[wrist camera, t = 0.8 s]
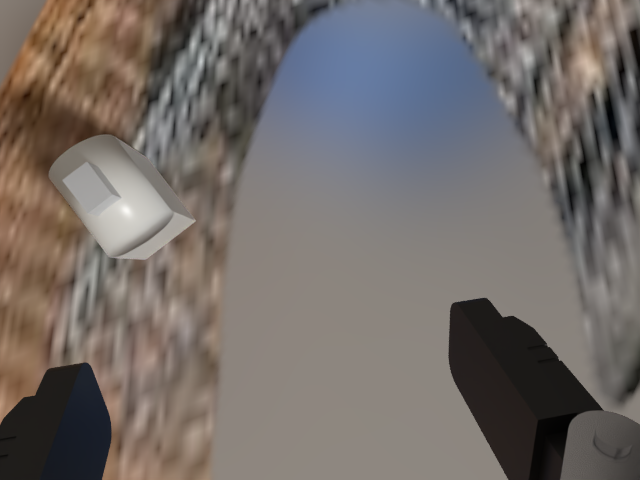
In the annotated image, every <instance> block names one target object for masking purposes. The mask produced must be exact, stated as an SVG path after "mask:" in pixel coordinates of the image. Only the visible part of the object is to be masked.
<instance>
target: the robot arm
mask: <svg viewBox="0 0 640 480" xmlns="http://www.w3.org/2000/svg"><path fill="white" fill-rule="evenodd" d="M449 364H450V370H451V373H452V376H453V379H454V382H455V383H456V385H457V387H458V389H459V391H460V393H461V394H462V396H463V398H464V400H465V402H466V404H467V405H468V407H469V409H470V411H471V413H472V414H473V416H474V418H475V420H476V422H477V423H478V425H479V427H480V429H481V431H482V432H483V434H484V436H485V438H486V440H487V442H488V443H489V445H490V447H491V449H492V451H493V453H494V454H495V456H496V458H497V460H498V462H499V463H500V465H501V467H502V469H503V471H504V473H505V474H506V476H507V478H508V480H640V425H639V424H638V423H636V422H635V421H633V420H631V419H629V418H627V417H625V416H623V415H620V414H617V413H613V412H608V411H604V410H603V409H602V408H601V407H600V405H599V404H598V403H597V402H596V401H595V400H594V398H593V397H592V396H591V395H590V394H589V393H588V391H587V390H586V389H585V388H584V387H583V386H582V384H581V383H580V382H579V381H578V380H577V378H576V377H575V376H574V375H573V374H572V373H571V371H570V370H569V369H568V368H567V367H566V366H565V365H564V363H563V362H562V361H559V359H558V356H557V355H556V354H555V353H554V352H553V350H552V349H551V348H550V347H548V346H547V343H546V342H545V341H544V340H543V339H542V338H541V336H540V335H539V334H538V333H537V332H536V330H535V329H534V328H532V327H531V326H529V325H528V324H526V323H524V322H523V321H521V320H519V319H517V318H516V317H514V316H508V317H502V316H501V315H500V313H499V312H498V311H497V310H496V308H495V307H494V306H493V305H492V303H491V302H490V301H489V300H488V299H487V298H480V299H473V300H467V301H461V302H455V303H453V304H452V306H451V310H450V331H449ZM110 444H111V421H110V416H109V413H108V410H107V407H106V405H105V402H104V399H103V397H102V394H101V391H100V389H99V386H98V383H97V381H96V378H95V375H94V373H93V370H92V368H91V366H90V365H89V364H88V363H79V364H73V365H67V366H61V367H55V368H50V369H48V370H47V371H46V373H45V375H44V377H43V379H42V381H41V384H40V386H39V388H38V390H37V392H36V395H35V396H30V397H24V398H23V399H22V400H21V401H20V402H19V403H18V404H17V405H16V406H15V407H14V408H13V409H12V410H11V411H10V412H9V413H8V414H7V415H6V416H5V417H4V419H3V421H2V423H1V425H0V480H102V477H103V473H104V469H105V465H106V460H107V456H108V452H109V448H110Z"/></svg>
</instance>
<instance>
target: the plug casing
mask: <svg viewBox="0 0 640 480" xmlns="http://www.w3.org/2000/svg"><path fill="white" fill-rule="evenodd" d="M49 178H50V180H51V181H52V183H53V184H54V185H55V187H56V188H57V189H58V191H59V192H60V193H61V194H62V196H63V197H64V198H65V200H66V201H67V202H68V204H69V205H70V206H71V208H72V209H73V210H74V212H75V213H76V214H77V216H78V217H79V218H80V220H81V221H82V222H83V224H84V225H85V226H86V227H87V229H88V230H89V231H90V233H91V234H92V235H93V237H94V238H95V239H96V241H97V242H98V243H99V245H100V246H101V247H102V249H103V250H104V251H105V253H106V254H107V255H108V257H111V258H126V259H142V260H146V259H147V258H149V257H150V256H151V255H153V254H154V253H155V252H156V251H158V250H159V249H160V248H162V247H163V246H164V245H166V244H167V243H168V242H169V241H171V240H172V239H173V238H175V237H176V236H177V235H178V234H180V233H181V232H182V231H184V230H185V229H186V228H188V227H189V226H190V225H191V224H193V223H194V222H195V221H196V220H195V219H194V217H193V216H192V215H191V213H190V212H189V211H188V209H187V208H186V207H185V206H184V204H183V203H182V202H181V200H180V199H179V198H178V196H177V195H176V194H175V193H174V191H173V190H172V189H171V187H170V186H169V185H168V183H167V182H166V181H165V180H164V178H163V177H162V176H161V174H160V173H159V172H158V171H157V169H156V168H155V167H154V165H153V164H152V163H151V161H150V160H149V159H148V158H147V157H145V156H144V155H142V154H141V153H139V152H138V151H136V150H135V149H133V148H132V147H130V146H129V145H127V144H126V143H124V142H122V141H121V140H119V139H118V138H116V137H115V136H113V135H108V134H104V135H98V136H94V137H91V138H88V139H86V140H83V141H81V142H79V143H77V144H76V145H74V146H72V147H71V148H69V149H68V150H67V151H65V152H64V153H63V154H62V155H61V156H60V157H58V159H57V160H56V161H55V162H54V163H53V165H52V166H51V168H50V170H49Z"/></svg>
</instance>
